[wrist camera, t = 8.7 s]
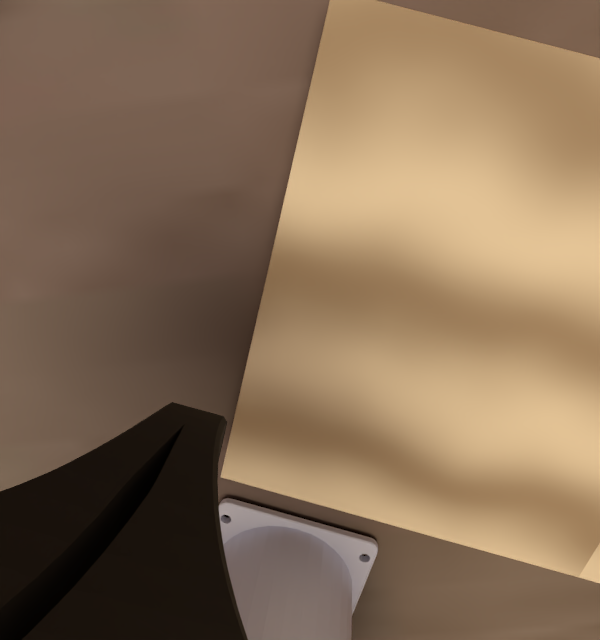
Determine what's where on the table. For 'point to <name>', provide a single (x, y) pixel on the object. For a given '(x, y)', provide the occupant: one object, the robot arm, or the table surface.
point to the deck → (437, 292)
